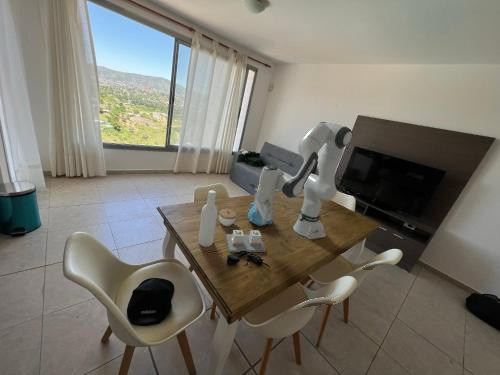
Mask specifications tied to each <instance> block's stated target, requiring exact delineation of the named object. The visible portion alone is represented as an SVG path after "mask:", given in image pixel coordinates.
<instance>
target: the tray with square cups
mask: <svg viewBox="0 0 500 375" xmlns="http://www.w3.org/2000/svg"><path fill="white" fill-rule="evenodd" d="M254 231H255V232H254V235H257V233H258V232H256V231H257V230H254ZM232 234H233V233H229V234H228V233H226V234H225V238H226V239H225V240H226V242H227V248H228V251H229V252H228V253H241V252H240V251H247V252H246V253H265V252H266V247H265V245H264V243H263V240H262V239H260V245H250V244H249V241H248V237H249V235H250V233H248V234H244V233H243V234H244V238H243V245H232V241H231V237H232ZM237 235H240V231H237Z"/></svg>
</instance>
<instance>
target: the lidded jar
mask: <svg viewBox="0 0 500 375" xmlns="http://www.w3.org/2000/svg"><path fill="white" fill-rule="evenodd" d="M218 213H219V216H218V219H219V222H220V224H221V225H222V226H224V227H230V226H231V225H233V224H234V223H235V221H236V218H237V212H236V211H235V210H232V209H231V208H224V209H221V210H219V212H218Z"/></svg>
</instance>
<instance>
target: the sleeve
mask: <svg viewBox="0 0 500 375" xmlns="http://www.w3.org/2000/svg"><path fill="white" fill-rule="evenodd" d="M255 231H256V232H258V233H257V235H254V232H255ZM249 234H250V235H249V237H248V241H249V244H250V245H260V239H261V238H262V234H261V232H260V230H253V229H252V230H250V231H249ZM261 240H262V239H261Z"/></svg>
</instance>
